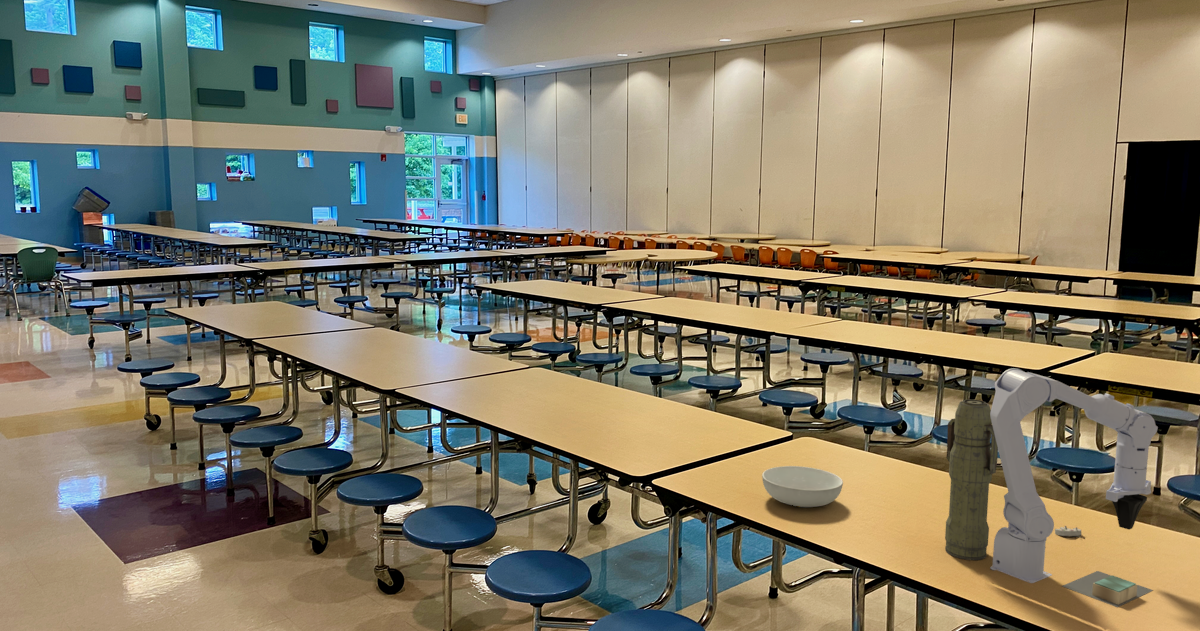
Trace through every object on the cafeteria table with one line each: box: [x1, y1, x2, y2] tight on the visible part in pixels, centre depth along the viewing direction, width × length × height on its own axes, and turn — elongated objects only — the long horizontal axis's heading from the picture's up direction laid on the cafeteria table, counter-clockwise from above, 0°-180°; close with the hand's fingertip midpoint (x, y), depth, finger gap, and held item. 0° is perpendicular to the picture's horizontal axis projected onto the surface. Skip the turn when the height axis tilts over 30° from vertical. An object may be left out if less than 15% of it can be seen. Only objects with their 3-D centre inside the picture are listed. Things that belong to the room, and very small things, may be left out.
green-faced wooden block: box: [1092, 574, 1138, 605], centre depth 169 cm, size 5×3×7 cm
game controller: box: [1054, 525, 1082, 537], centre depth 200 cm, size 6×12×3 cm, turn 23°
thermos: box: [944, 399, 999, 561], centre depth 190 cm, size 9×12×35 cm
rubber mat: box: [1061, 570, 1154, 608], centre depth 173 cm, size 11×14×1 cm
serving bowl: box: [761, 465, 844, 508], centre depth 225 cm, size 21×21×7 cm
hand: (1125, 527), depth 179 cm, fingers closed
